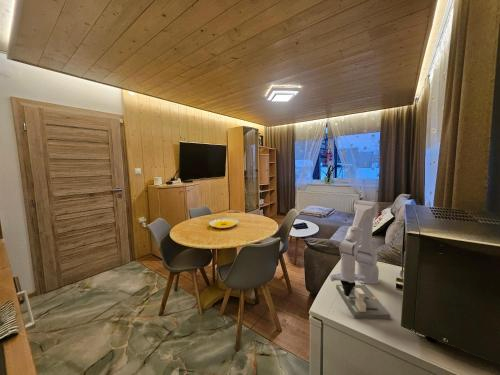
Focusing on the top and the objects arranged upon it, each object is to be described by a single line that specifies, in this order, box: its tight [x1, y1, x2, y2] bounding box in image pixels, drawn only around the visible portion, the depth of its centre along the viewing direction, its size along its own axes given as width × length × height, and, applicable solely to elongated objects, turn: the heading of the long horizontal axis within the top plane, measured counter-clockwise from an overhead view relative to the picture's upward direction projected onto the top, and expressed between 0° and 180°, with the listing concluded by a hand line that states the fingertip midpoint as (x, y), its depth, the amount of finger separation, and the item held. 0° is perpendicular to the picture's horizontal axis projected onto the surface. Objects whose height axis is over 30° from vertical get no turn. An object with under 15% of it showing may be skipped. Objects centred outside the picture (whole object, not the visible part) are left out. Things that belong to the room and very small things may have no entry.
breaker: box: [355, 298, 366, 312], centre depth 86 cm, size 2×4×3 cm, turn 178°
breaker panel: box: [335, 284, 391, 320], centre depth 93 cm, size 14×20×2 cm
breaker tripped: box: [355, 288, 365, 300], centre depth 93 cm, size 2×4×3 cm, turn 178°
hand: (346, 295), depth 93 cm, fingers closed
